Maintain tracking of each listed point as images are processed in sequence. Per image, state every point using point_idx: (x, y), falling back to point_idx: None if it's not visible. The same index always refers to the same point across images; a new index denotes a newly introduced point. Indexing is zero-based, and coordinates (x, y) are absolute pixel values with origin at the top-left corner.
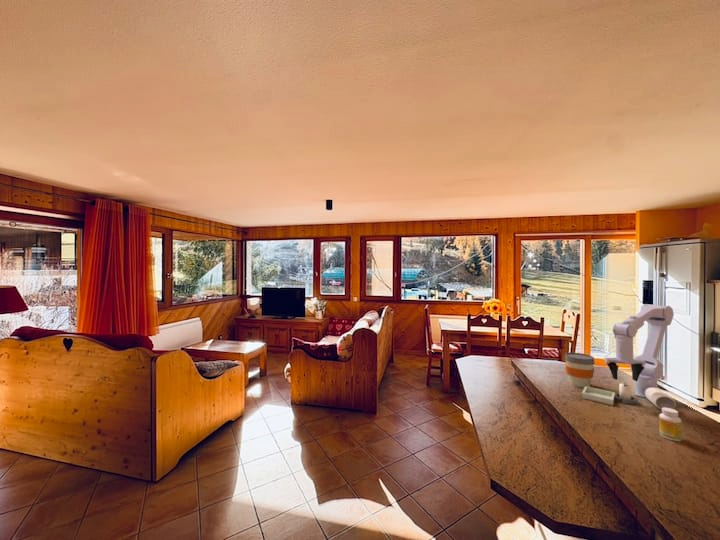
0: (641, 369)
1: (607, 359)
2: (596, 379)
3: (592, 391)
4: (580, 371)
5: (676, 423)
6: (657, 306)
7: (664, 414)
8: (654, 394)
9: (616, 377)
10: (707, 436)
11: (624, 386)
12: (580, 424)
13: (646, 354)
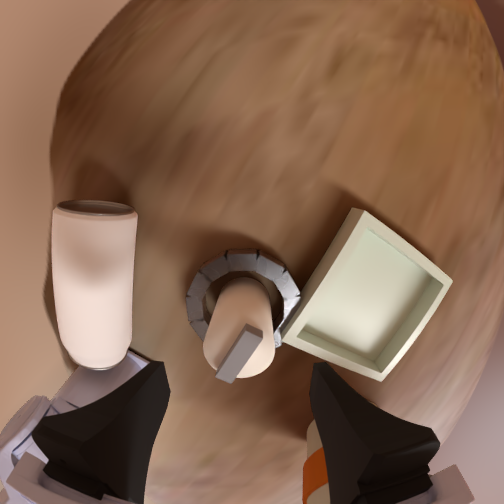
0: (69, 419)
1: (470, 497)
2: (241, 472)
3: (360, 356)
4: None
5: None
6: None
7: None
8: (103, 269)
9: (326, 371)
10: (129, 12)
11: (258, 325)
12: (487, 50)
13: None
